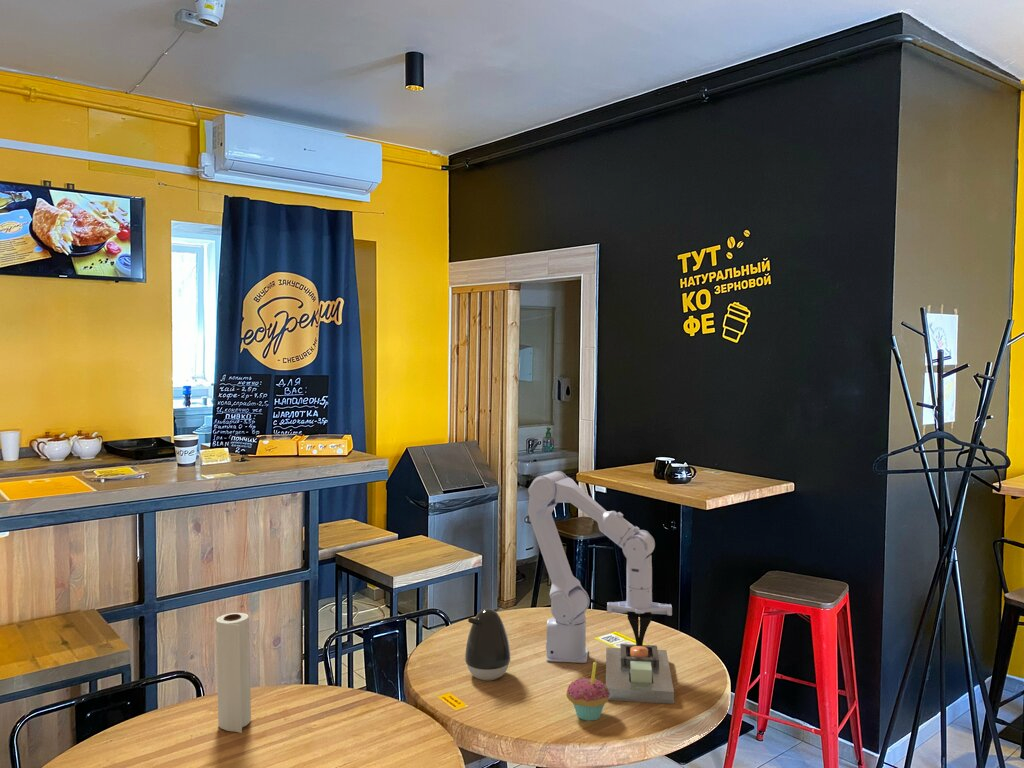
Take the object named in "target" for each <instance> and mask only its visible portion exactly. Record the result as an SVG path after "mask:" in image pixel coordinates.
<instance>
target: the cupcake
mask: <svg viewBox="0 0 1024 768" xmlns="http://www.w3.org/2000/svg"><path fill="white" fill-rule="evenodd" d="M596 669H597V659H595V660H594V662H593V663H592V671H591V678H588V677H581V678H580V677H579V678H578V679H575V680H574V681H571V682H570V684H569V685H568V687H567V690H566V693H565V695H566V698H567V699H568V701H570V702H571V703H572V705H573V708H574V710H575V713H576V716H577V717H578V718H579V719H580V720H583V721H589V722H591V721H596V720H598V719H600V717H601V716H602V712H603V708H604V706H605V704H606V703H608V701H609V700H608V698H609V696H610V692H609V690H608V688H607V686H606V683H604V682H603V681H600V680H599V679H597V678H596Z"/></svg>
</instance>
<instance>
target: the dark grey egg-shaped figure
mask: <svg viewBox="0 0 1024 768" xmlns="http://www.w3.org/2000/svg"><path fill="white" fill-rule="evenodd" d="M467 622H468V623H469V624H471V626H470V629H469V632H468V636H467V641H466V647H465V654H464V655H465V656H464V657H465V658H464V659H465V661H464V662H465V663H466V665H467V668H468V670H469V672H470V674H471V675H472V676H473V677H475V678H476V679H478V680H481V681H494V680H498V679H500V678H501V677H503V675H505V673H507V670H508V668H509V664H510V662H511V658H512V657H511V650H510V643H509V638H508V634H507V631H506V628H505V625H504V622H503V621H502V619H501V616H500V615H499V613H497V611H495V610H494V609H491V608H484V609H481V610H480V611H479V612H477V614H476V616H475V617H468V619H467Z"/></svg>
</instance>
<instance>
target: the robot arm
mask: <svg viewBox="0 0 1024 768" xmlns="http://www.w3.org/2000/svg"><path fill="white" fill-rule="evenodd" d="M527 492H528V495H529V500H528V506H527V515H528V518H529V521H530V523H531V524H530V525H531V527H532V530H533V533H534V535H535V539H536V541H537V545H538V547H539V549H540V554H541V555H542V559H543V563H544V564H545V567H546V570H547V574H548V577H549V579H550V582H551V585H550V590H549V597H550V598H549V599H550V603H551V605H550V612H551V615H552V616H553V617H552V618H548V619H547V620H546V642H545V650H546V661H547V662H556V663H557V662H558V663H578V664H579V663H580V664H581V663H582V664H586V663H588V655H589V654H588V653H589V648H587V647H586V645H587V644H586V640H587V634H586V633H587V631H586V630H587V629H586V628H587V627H586V624H587V622H586V618H587V617H586V611H587V610H588V608H589V607H590V602H591V601H590V597H589V594H588V592H587V591H586V590H585V589H584V587H583V586H582V584H581V581H580V580H579V579H578V578H576V577H575V576H574V574H573V571H572V570H571V566H570V564H569V560H568V558H567V555H566V552H565V549H564V546H563V543H562V540H561V537H560V535H559V532H558V528H557V526H556V523H555V520H554V518H553V514H552V513H553V511H554V509H555V507H556V506H557V504H560V503H561V504H562V503H565V504H566V503H568V504H571V505H573V506H574V507H576V508H577V509H578V510H580V511H581V512H582V513H583V514H585V515H587V516H588V517H590V518H591V519H592V520H593V521H595V522H597V526H598V530H599V531H600V532H601V534H604V535H605V536H606V537H607V538H608V539H610V540H611V541H612V542H613V543H614V544H616V545H617V546H618V547H619V548H621V549H622V553H623V556H624V557H625V558H626V600H624V601H614V602H613V601H608V602H606V603H607V604H606V605H607V606H606V612H607V613H606V614H613V613H616V614H617V613H618V614H619V613H620V614H627V620H628V622H629V625H630V627H631V629H632V632H633V634H634V639H635V645H636V646H643V645H644V644H643V643H644V638H645V635H646V632H647V629H648V628H649V625H650V624H651V622H652V615H667V616H672V615H673V607H672V604H671V603H669V604H668V603H659V602H653V566H652V565H653V563H652V557H653V556H652V553H653V552H654V550H655V549H656V548H655V547H656V542H655V538H654V537H653V536H652V534H650V532H649V531H648V530H645V529H640V527H638V526H637V525H633V524H632V523H630V522H629V521H628V520H627V519H625V518H624V514H623V513H622V512H621V511H618V512H617V511H616V510H610V511H609V510H608V511H607V510H606V509H605V508H604V507H603V506H602V505H601V504H599V503H598V502H597V501H596V500H595V499H594V498H592V496H590V495H589V494H588V493H587V492H585V491H584V490H583V488H581V487H580V486H579V485H578V484H577V483H576V481H574V479H573V478H571V477H569V476H568V475H566V473H564V472H563V471H560V470H555V471H552V472H550V473H547V474H544V475H540V476H537V477H535V478H534V479H533V481H532V482H531V483H530V485H529V487H528V488H527Z"/></svg>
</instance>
